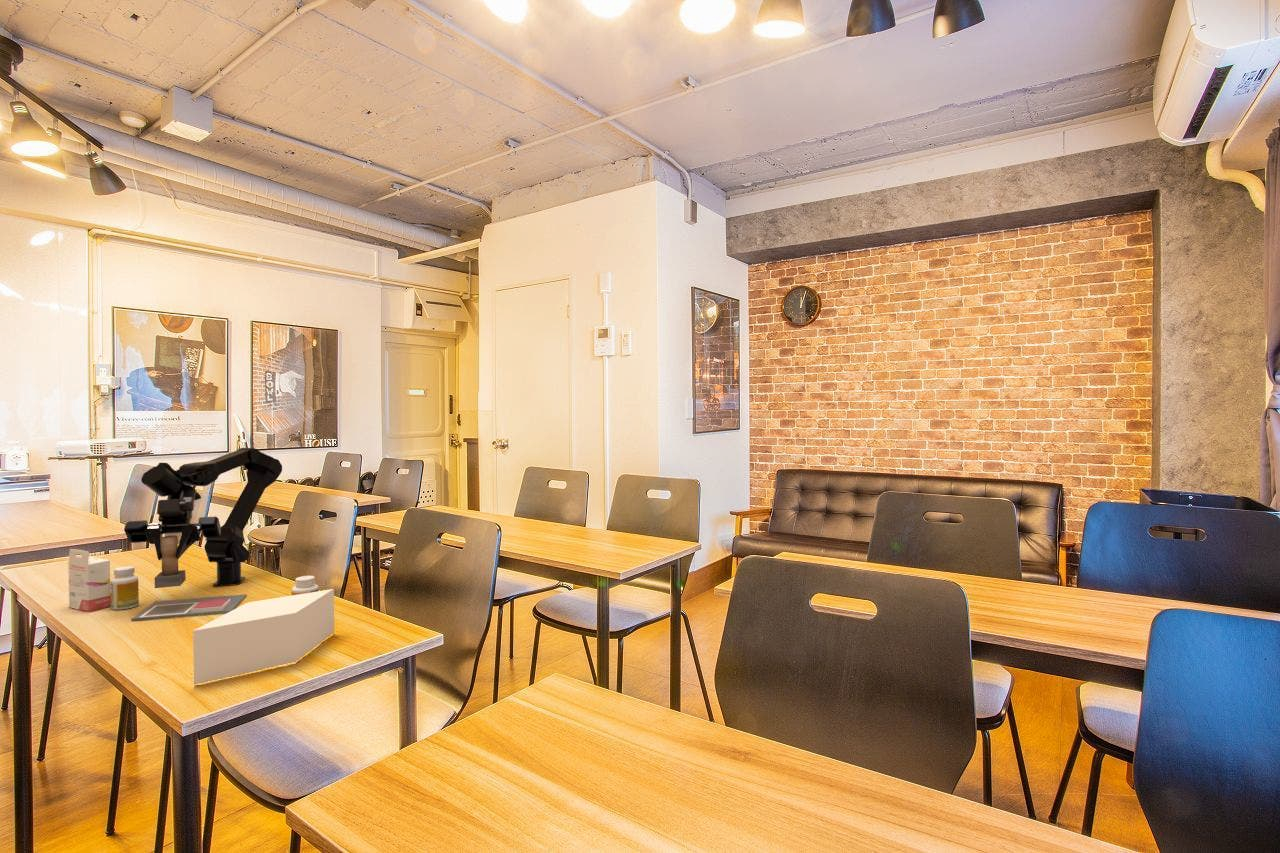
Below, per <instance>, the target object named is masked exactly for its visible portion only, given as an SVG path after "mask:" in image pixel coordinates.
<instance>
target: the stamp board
mask: <svg viewBox="0 0 1280 853" xmlns="http://www.w3.org/2000/svg"><path fill="white" fill-rule="evenodd" d="M246 596H247V594H246V593H244V594H232V595H221V596H208V597H207V596H206V597H205V596H204V597H191V598H180V599H179V598H178V599H165V600H155V601H154V602H152V603H151V604H150V605H148V606H146V607H145V608H144V609H142V610H141V611H140V612H138V613H137V614H136V615H134V616H133V617H132V618H130V621H131V622H138V621H139V622H140V621H151V620H163V619H164V618H165V619H174V618H175V617H177V618H186V617H185V616H188V617H198V615H200V616H207V615H208V616H210V615H211V614H212V615H220V614H223V613H224V614H226V613H228V612H230V611H232V610H234V609H236V608H238V607H239V605H240V604H241V603H242V602H243V601H244V600H245V599H246V598H247V597H246ZM245 597H246V598H245ZM244 598H245V599H244ZM243 599H244V600H243ZM242 600H243V601H242ZM224 614H223V615H224ZM212 615H211V616H212Z"/></svg>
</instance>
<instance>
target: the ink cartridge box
mask: <svg viewBox="0 0 1280 853" xmlns="http://www.w3.org/2000/svg"><path fill="white" fill-rule="evenodd" d="M77 555H80V556H81V557H80V556H79V557H78V556H77ZM68 557H69V558H68V607H71V608H70V609H72V608H75V609H74V610H77V609H78V610H77V611H82V610H83V611H82V612H87V611H88V613H90V612H94V611H98V610H102V609H106V608H107V609H108V608H111V590H110V581H111V560H110V559H104V558H97V557H91V556H90V552H89V551H88V550H83V549H74V548H70V549H69V554H68Z"/></svg>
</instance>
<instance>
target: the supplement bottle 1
mask: <svg viewBox="0 0 1280 853" xmlns="http://www.w3.org/2000/svg"><path fill="white" fill-rule="evenodd" d="M135 569H136V568H135V566H134V565H133V566H132V565H130V566H120V567H116V568H114V569H113V575H114V577H112V578H110V593H111V607H110V609H111V610H112V611H121V610H123V609H124V610H130V609H132V608H133V609H134V608H136V607H137V606H139V604H140V600H139V599H140V597H139V593H140V592H139V591H140V590H139V577H138V575H136V574H135ZM129 608H130V609H129Z"/></svg>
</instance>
